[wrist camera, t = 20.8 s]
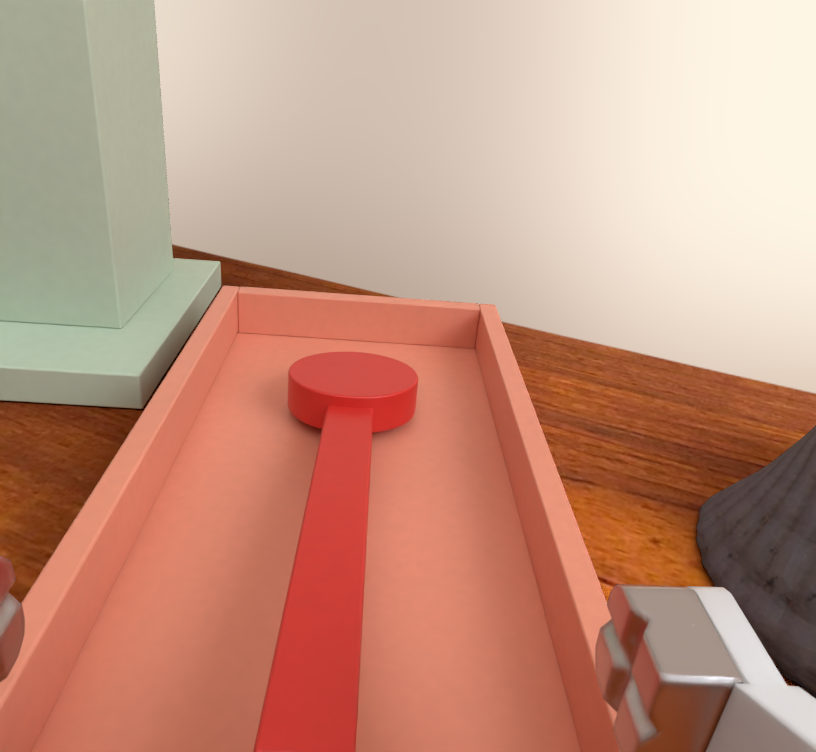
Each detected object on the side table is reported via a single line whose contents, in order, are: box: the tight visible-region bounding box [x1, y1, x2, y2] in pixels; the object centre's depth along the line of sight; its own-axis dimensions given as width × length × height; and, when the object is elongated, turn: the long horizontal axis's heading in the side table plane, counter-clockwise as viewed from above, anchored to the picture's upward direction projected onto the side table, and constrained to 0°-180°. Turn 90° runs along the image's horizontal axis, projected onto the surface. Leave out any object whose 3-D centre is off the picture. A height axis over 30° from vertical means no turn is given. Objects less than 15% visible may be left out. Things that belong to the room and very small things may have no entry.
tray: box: [0, 286, 620, 752], centre depth 22 cm, size 13×24×3 cm, turn 1°
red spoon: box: [253, 352, 418, 752], centre depth 19 cm, size 18×5×1 cm, turn 1°
